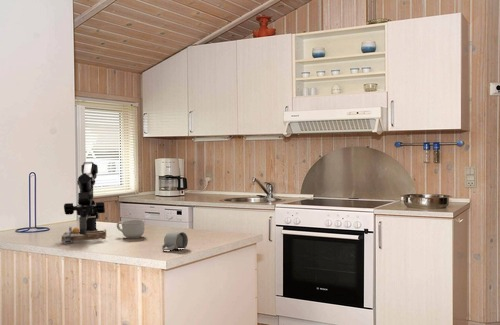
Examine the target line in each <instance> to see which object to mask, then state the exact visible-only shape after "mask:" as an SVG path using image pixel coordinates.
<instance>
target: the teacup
mask: <svg viewBox="0 0 500 325" xmlns="http://www.w3.org/2000/svg"><path fill="white" fill-rule="evenodd" d="M120 224H121V226H120ZM116 228H117V229H118V231H120V232H121V233H122V235H123V236H124V237H125V238H126V239H130V240H134V239H133V238H135V239H139V238H141V237H142V236H143V235H144V234H145V220H144V219H128V220H127V219H126V220H124V221H119V222H117V223H116Z"/></svg>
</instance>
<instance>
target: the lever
mask: <svg viewBox="0 0 500 325" xmlns="http://www.w3.org/2000/svg"><path fill="white" fill-rule="evenodd" d="M78 222H79V227H78V229H79V232H80V234H71V233H72V230H73V228H72V227H73V226H69V227H68V231H67V233H66V234H64V233H63V234H62V235H63V237H71V236H83V234H86V217H80V216H79V217H78Z"/></svg>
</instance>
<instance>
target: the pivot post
mask: <svg viewBox="0 0 500 325" xmlns="http://www.w3.org/2000/svg"><path fill="white" fill-rule="evenodd" d="M61 244H62V245H71V244H74V240H70V237H65V241H61Z"/></svg>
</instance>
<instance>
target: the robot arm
mask: <svg viewBox="0 0 500 325" xmlns="http://www.w3.org/2000/svg"><path fill="white" fill-rule="evenodd" d="M80 168H81V169H80V171H81V174H80V175H79V176H78V178H77V186H78V188H79V192H78V194H77V195H78V196H77V197H78V198H77V199H78V200H77V204H76V205H74V203H73V202H71V203H69V202H67V203H66V202H65V203H64V204H63V210H64V214H65V215H66V216H69V215H73V214H74V213H75V211H76V215H77V216H79V217H86V231H99V230H98V229H97V220H98V219H100V217H99V214H104V213H106V204H105V202H104V201H97V202H95V200H94V186H95V184H96V178H97V176H98V175H97V174H98V172H99V170H98V164H95V163H94V162H93V161H84V162H83V164H81V167H80Z"/></svg>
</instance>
